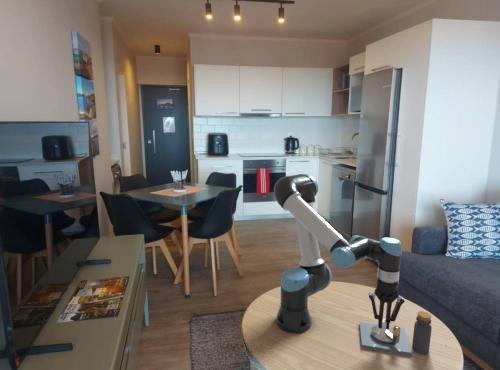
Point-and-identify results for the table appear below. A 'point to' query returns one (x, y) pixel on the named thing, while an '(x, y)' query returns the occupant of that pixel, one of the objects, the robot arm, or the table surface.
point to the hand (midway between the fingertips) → (382, 335)
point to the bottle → (422, 333)
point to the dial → (390, 335)
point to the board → (376, 345)
